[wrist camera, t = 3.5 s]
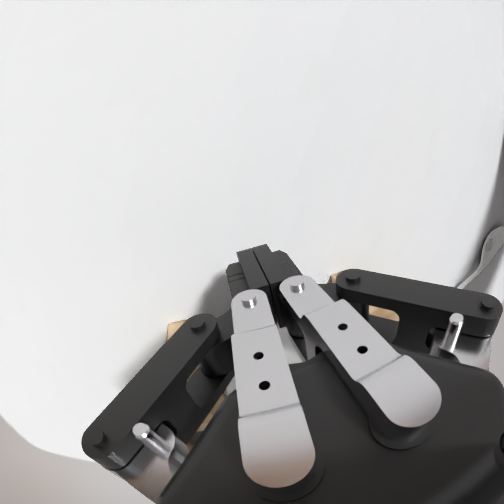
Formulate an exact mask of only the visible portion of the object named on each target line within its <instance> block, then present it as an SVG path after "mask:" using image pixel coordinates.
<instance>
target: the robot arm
mask: <svg viewBox="0 0 504 504" xmlns="http://www.w3.org/2000/svg"><path fill="white" fill-rule="evenodd" d="M237 257H238V260H239V262H237V263H233V264H230V265H228V268H227V270H226V274H227V278H228V282H229V287H230V291H231V295H232V301H231V309H230V310H229V311H228V312H227V313H225V314H224V315H222V316H221V317H219V318H217V319H215V317H213V316H212V315H209V314H199V315H195V316H193V317H191V318H189V319H188V320H186V321H185V322H184V323H183V324H182V325H181V326H180V328H179V329H178V330H177V331H176V332H175V333H174V334H173V335H172V336H171V337H170V338H169V340H168V341H167V342H166V343H165V344H164V345H163V346H162V347H161V348H160V349H159V350H158V352H157V353H156V354H155V355H154V356H153V357H152V358H151V359H150V360H149V361H148V362H147V364H146V365H145V366H144V367H143V368H142V369H141V370H140V371H139V372H138V373H137V374H136V376H135V377H134V378H133V379H132V380H131V381H130V382H129V383H128V384H127V385H126V386H125V388H124V389H123V390H122V391H121V392H120V393H119V394H118V395H117V396H116V397H115V399H114V400H113V401H112V402H111V403H110V404H109V405H108V406H107V407H106V408H105V409H104V411H103V412H102V413H101V414H100V415H99V416H98V417H97V418H96V419H95V420H94V422H93V423H92V424H91V425H90V426H89V427H88V428H87V429H86V431H85V432H84V434H83V437H82V448H83V451H84V452H85V454H86V455H87V456H89V457H90V458H92V459H93V460H95V461H96V462H98V463H99V464H101V465H102V466H103V467H104V468H105V469H107V470H109V471H110V472H112V473H114V474H115V475H117V476H118V477H120V478H122V479H124V480H125V481H127V482H128V483H129V484H130V485H131V486H133V487H134V488H135V489H137V490H138V491H139V492H140V493H142V494H143V495H145V496H146V497H147V498H149V499H150V500H151V501H153V502H154V503H156V504H504V388H503V385H502V384H501V382H500V381H499V379H498V378H497V377H496V376H495V375H494V374H492V373H491V372H489V363H490V352H491V338H492V336H493V334H494V331H495V329H496V327H497V325H498V322H499V319H500V317H501V314H502V311H503V308H502V305H501V303H500V301H499V300H498V299H497V298H495V297H494V296H491V295H489V294H484V293H479V292H474V291H469V290H464V289H458V288H453V287H448V286H443V285H438V284H433V283H428V282H422V281H417V280H412V279H407V278H402V277H396V276H391V275H386V274H381V273H376V272H370V271H365V270H360V269H348V270H345V271H342V272H340V273H339V274H338V275H337V276H336V283H329V284H317V283H316V282H315V281H314V280H313V279H312V278H310V277H308V276H303V275H302V274H301V272H300V271H299V269H298V268H297V267H296V265H295V264H294V263H293V261H292V260H291V259H290V257H289V256H288V255H287V253H284V252H282V251H280V250H278V251H275V252H271V250H270V249H269V247H268V246H267V244H264V245H260V246H257V247H253V248H252V249H251V248H250V249H246V250H243V251H239V252H237ZM369 305H370V306H374V307H378V308H382V309H387V310H391V311H394V312H395V313H396V314H397V315H398V316H399V321H394V320H390V319H386V318H382V317H378V316H374V315H370V314H369ZM277 323H278V325H279V328H283V327H286V328H287V330H288V335H289V340H290V342H291V343H292V345H293V347H294V348H295V350H296V352H297V353H298V355H299V357H300V358H301V360H302V362H301V363H293V364H288V362H287V358H286V355H285V352H284V349H283V345H282V342H281V339H280V335H279V332H278V325H277ZM197 366H199V367H198V368H197ZM196 368H197V370H196V371H195V372H194V374H193V375H192V376H191V377H190V379H189V380H188V378H189V376H190V375H191V374H192V373H193V371H194V370H195V369H196ZM234 376H235V381H236V389H235V390H234V391H232V392H231V393H230V394H229V395H228V396H227V397H226V398H225V399H224V400H223V401H222V403H221V404H220V406H219V407H218V409H217V410H216V412H215V414H214V415H213V417H212V418H211V420H210V421H209V423H208V425H207V426H206V428H205V429H204V431H203V432H202V434H201V435H200V437H199V438H198V440H197V441H196V443H195V445H194V446H193V448H192V449H191V451H190V452H189V451H188V448H187V446H186V445H187V444H188V442H189V441H190V440H191V438H192V437H193V435H194V434H195V433H196V431H197V430H198V428H199V427H200V426H201V424H202V423H203V421H204V420H205V419H206V417H207V416H208V414H209V413H210V411H211V410H212V408H213V407H214V406H215V404H216V403H217V401H218V400H219V398H220V397H221V395H222V394H223V392H224V391H225V389H226V388H227V386H228V385H229V383H230V382H231V380H232V379H233V377H234ZM187 380H188V381H187Z"/></svg>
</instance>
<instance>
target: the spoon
mask: <svg viewBox="0 0 504 504" xmlns="http://www.w3.org/2000/svg"><path fill="white" fill-rule="evenodd" d="M490 239H492V246H491V248H490V250H489V251H488V253H487V252H486V251H485V249H486V244H487V242H488V241H489V240H490ZM503 244H504V226H500V227H497V228H496V229H494V230H492V231H491V233H490V234H489V235H488V236H487V238H486V240H485V242H484V245H483V249H482V255H481V262H480V265H479V267H478V268H477V269H476V271H475V272H474V273H473V274H472V275H470V276H469V277H468V278H467V279H466V280H465V281H464V282H463V283H462V284H460V285H459V286H458V287H457V288H458V289H463V288H464V287H465V286H466V285H467V284H468V283H470V282H471V281H472V280H473V279H474V278H475V277H476V276H478V275H479V274H480V273H481V271H482V270H483V269H484V268H485V267H486V266H487V265H488V264H489V262H490V261H491V260H492V258H493V257H494V256H495V254H496V253H497V252H498V251H499V249H500V248H501V247H502V245H503Z"/></svg>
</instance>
